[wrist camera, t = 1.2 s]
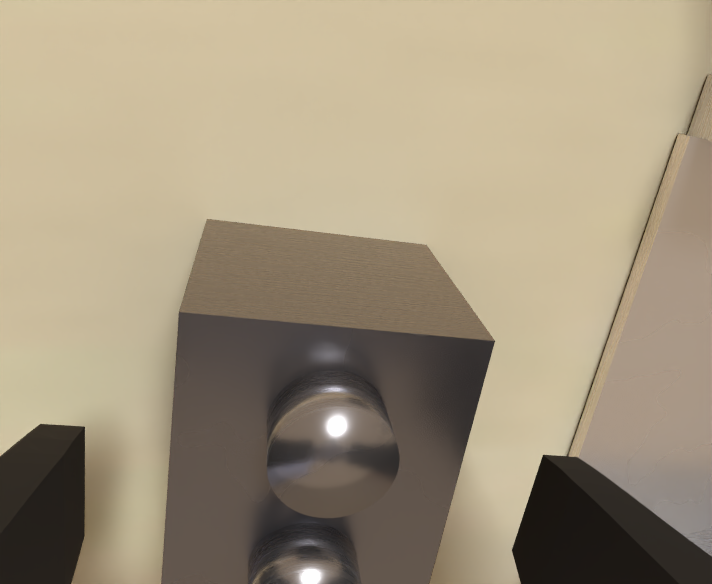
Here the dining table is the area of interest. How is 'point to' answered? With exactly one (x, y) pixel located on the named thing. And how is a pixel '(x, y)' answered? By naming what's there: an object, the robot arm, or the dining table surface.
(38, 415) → the dining table surface
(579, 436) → the chassis
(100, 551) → the dining table surface
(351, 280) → the block
